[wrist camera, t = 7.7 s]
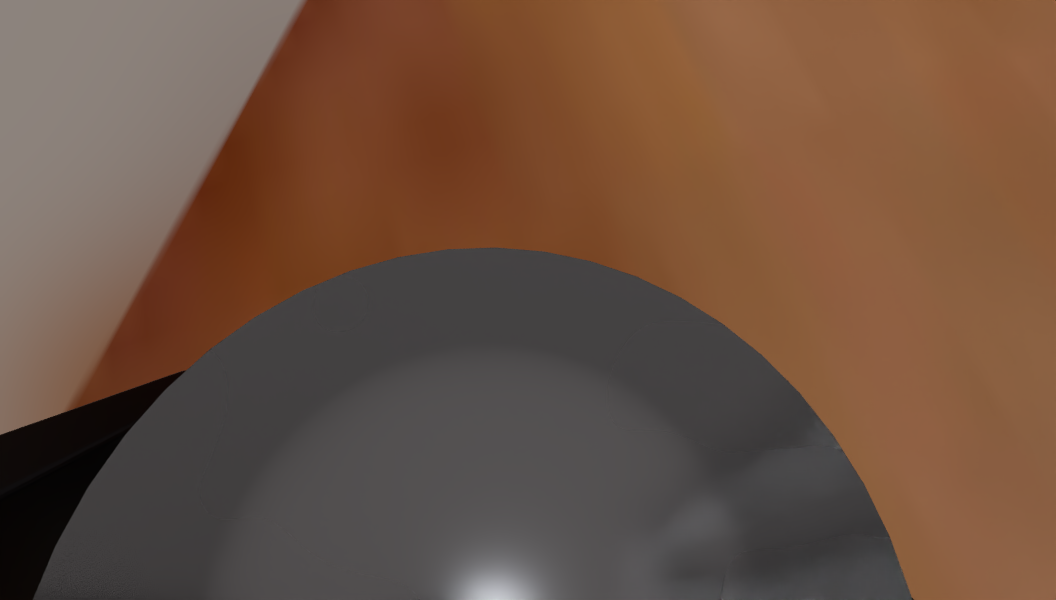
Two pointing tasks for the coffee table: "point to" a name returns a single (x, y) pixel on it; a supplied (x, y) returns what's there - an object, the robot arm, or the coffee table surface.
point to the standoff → (478, 454)
